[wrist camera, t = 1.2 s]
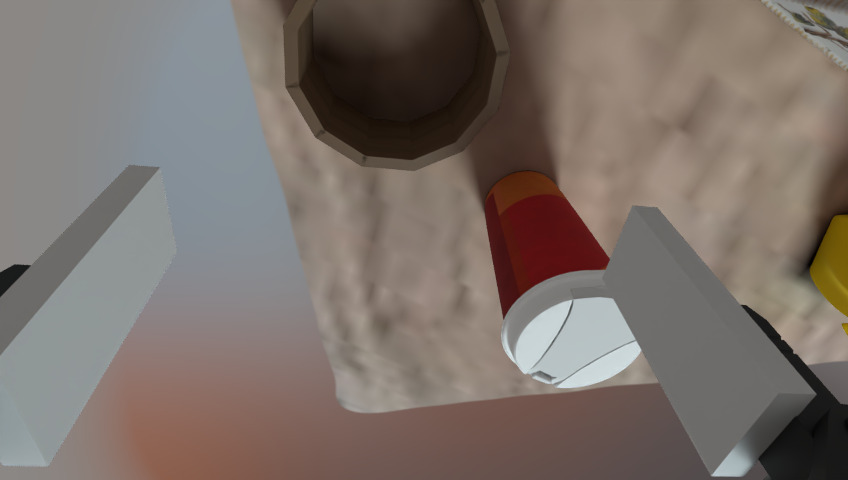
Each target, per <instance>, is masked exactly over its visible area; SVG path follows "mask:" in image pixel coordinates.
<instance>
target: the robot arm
mask: <svg viewBox="0 0 848 480" xmlns="http://www.w3.org/2000/svg"><path fill="white" fill-rule="evenodd" d="M176 253H177V249H176V244H175V239H174V234H173V229H172V224H171V219H170V214H169V210H168V204H167V199H166V194H165V189H164V184H163V179H162V174H161V169H160V167H148V166H135V165H129V166H128V167H127V168H126V169H125V170H124V171H123V172H122V173H121V174H120V175H119V176H118V177H117V178H116V179H115V180H114V181H113V182H112V183H111V184H110V185H109V186H108V187H107V188H106V189H105V190H104V191H103V192H102V193H101V194H100V196H98V198H97V199H96V200H95V201H94V202H93V203H92V204H91V205H90V206H89V207H88V208H87V209H86V210H85V211H84V212H83V213H82V214H81V215H80V216H79V217H78V218H77V219H76V220H75V221H74V222H73V223H72V224H71V225H70V226H69V227H68V228H67V229H66V230H65V231H64V232H63V234H61V236H60V237H59V238H58V239H57V240H56V241H55V242H54V243H53V244H52V245H51V246H50V247H49V248H48V249H47V250H46V251H45V252H44V253H43V254H42V255H41V256H40V257H39V258H38V259H37V260H36V261H35V262H34V263H33V264H32V265H13V266H11V267H9V268H7V269H6V270H4V271H2V272H0V462H1V463H2V465H3V466H49V464H50V463H51V461H52V459H53V458H54V456H55V454H56V453H57V451H58V449H59V448H60V446H61V445H62V443H63V441H64V439H65V438H66V436H67V435H68V433H69V431H70V430H71V428H72V426H73V425H74V423H75V421H76V420H77V418H78V416H79V415H80V413H81V411H82V410H83V408H84V406H85V404H86V403H87V401H88V400H89V398H90V396H91V395H92V393H93V391H94V390H95V388H96V386H97V384H98V383H99V381H100V379H101V378H102V376H103V374H104V373H105V371H106V370H107V368H108V366H109V365H110V363H111V361H112V360H113V358H114V356H115V355H116V353H117V351H118V350H119V348H120V346H121V344H122V343H123V341H124V340H125V338H126V336H127V335H128V333H129V331H130V330H131V328H132V326H133V325H134V323H135V321H136V320H137V318H138V316H139V315H140V313H141V311H142V310H143V308H144V306H145V305H146V303H147V301H148V300H149V298H150V296H151V295H152V293H153V291H154V290H155V288H156V286H157V285H158V283H159V281H160V280H161V278H162V276H163V275H164V273H165V271H166V270H167V268H168V266H169V265H170V263H171V261H172V260H173V258H174V256H175V255H176ZM602 279H603V281H604V283H605V285H606V287H607V288H608V290H609V292H610V294H611V296H612V298H613V299H614V301H615V303H616V305H617V307H618V308H619V310H620V312H621V314H622V316H623V317H624V319H625V321H626V323H627V325H628V327H629V328H630V330H631V332H632V334H633V336H634V337H635V339H636V341H637V343H638V345H639V346H640V348H641V350H642V352H643V354H644V356H645V357H646V359H647V361H648V363H649V365H650V366H651V368H652V370H653V372H654V374H655V375H656V377H657V379H658V381H659V383H660V385H661V386H662V388H663V390H664V392H665V393H666V395H667V397H668V399H669V401H670V403H671V404H672V406H673V408H674V410H675V412H676V414H677V415H678V417H679V418H680V421H681V423H682V424H683V426H684V428H685V430H686V431H687V433H688V435H689V437H690V439H691V441H692V443H693V444H694V446H695V448H696V450H697V452H698V453H699V455H700V457H701V459H702V461H703V462H704V464H705V466H706V468H707V470H708V472H709V473H710V475H711V476H742V477H743V476H745V475H746V474H747V472H748V471H749V470H750V469H751V468H752V467H753V466H754V465H755V463H756V462H757V461H758V460H759V461H760V462H761V464H762V465H763V467H764V468H765V470H766V471H767V473H768V475H767V476H766V478H765V479H764V480H848V405H845V404H840V403H839V402H838V400H837V399H836V398H835V397H834V396H833V395H832V394H831V392H830V391H829V390H828V389H827V388H826V387H825V386H824V385H823V383H822V382H821V381H820V380H819V379H818V378H817V377H816V376H815V375H814V373H813V372H812V371H811V370H810V369H809V368H808V366H807V365H806V364H805V363H804V362H803V361H802V360H801V359H800V357H799V356H798V355H797V354H793V350H792V348H791V347H790V346H789V345H788V344H787V343H786V342H785V341H784V340H781V336H780V335H779V334H778V333H777V331H776V330H775V329H774V328H773V327H772V326H771V325H770V324H769V322H768V321H767V320H766V319H764V318H763V317H761V316H760V315H759V314H757V313H756V312H755V311H753V310H752V309H751V308H749V307H748V306H746V305H740V304H739V303H738V302H737V300H736V299H735V298H734V297H733V296H732V295H731V293H730V292H729V291H728V290H727V289H726V288H725V286H724V285H723V284H722V283H721V282H720V280H719V279H718V278H717V277H716V276H715V275H714V273H713V272H712V271H711V270H710V269H709V268H708V266H707V265H706V264H705V263H704V262H703V261H702V259H701V258H700V257H699V256H698V255H697V254H696V252H695V251H694V250H693V249H692V248H691V247H690V245H689V244H688V243H687V242H686V241H685V240H684V238H683V237H682V236H681V235H680V234H679V233H678V231H677V230H676V229H675V228H674V227H673V225H672V224H671V223H670V222H669V221H668V220H667V218H666V217H665V216H664V215H663V214H662V213H661V211H660V210H659V209H658V208H657V207H645V206H632V208H631V210H630V213H629V215H628V218H627V220H626V222H625V225H624V227H623V230H622V232H621V234H620V237H619V239H618V242H617V244H616V246H615V249H614V251H613V253H612V256H611V258H610V261H609V263H608V265H607V268H606V270H605V273H604V275H603V277H602Z"/></svg>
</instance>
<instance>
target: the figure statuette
mask: <svg viewBox="0 0 848 480" xmlns="http://www.w3.org/2000/svg"><path fill="white" fill-rule="evenodd" d="M810 275H811V277H812V279H813V281H814V283H815V285H816V286H817V288H818V289H819V290H820V292H821V293H822V294H823V296H824V297H825V298H826V299H827V300H828V301H829V302H830V303H831V304H832V305H833V306H834V307H835V308H836V309H837V310H839V311H840V312H841V313H843V314H844V315H846V316H847V317H848V215H836V216H834V217H833V219H832V221H831V223H830V225H829V227H828V230H827V232H826V234H825V236H824V238H823V240H822V243H821V245H820V247H819V249H818V252H817V254H816V256H815V258H814V261H813V263H812V265H811V267H810ZM842 327H843V329H844V330H845V332H846V334H847V335H848V323H842Z"/></svg>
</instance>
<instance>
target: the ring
mask: <svg viewBox="0 0 848 480" xmlns="http://www.w3.org/2000/svg"><path fill="white" fill-rule="evenodd" d="M471 1H472V4H473V7H474V10H475V13H476V16H477V19H478V22H479V25H480V28H481V31H480V36H479V42H478V47H477V53H476V59H475V64H474V70H473V74H472V75H471V77H470V78H469V79H468V80H467V82H466V83H465V84H464V85H463V87H462V88H461V89H460V90H459V92H458V93H457V94H456V96H455V97H454V98H453V99H452V101H451V102H450V103H449V104H448V106H447V107H445V108H443V109H440V110H438V111H436V112H433V113H431V114H428V115H426V116H424V117H421V118H419V119H417V120H414V121H412V122H410V123H408V122H398V121H388V120H378V119H369V118H368V117H366V116H365V115H363V114H362V113H360V112H359V111H357V110H356V109H354V108H353V107H351V106H350V105H348V104H347V103H345V102H344V101H342V100H341V99H339V98H338V97H336V96H335V95H334V94H333V92H332V90H331V88H330V86H329V84H328V82H327V81H326V79H325V77H324V75H323V73H322V71H321V70H320V68H319V66H318V64H317V62H316V60H315V58H314V57H313V7H314V6H315V4H316V2H317V0H297V2H296V3H295V5H294V7H293V9H292V11H291V12H290V14H289V16H288V18H287V20H286V21H285V23H284V25H283V28H284V56H285V84H286V89H287V90H288V92H289V94H290V96H291V97H292V99H293V101H294V102H295V104H296V106H297V107H298V109H299V111H300V112H301V114H302V116H303V117H304V119H305V121H306V122H307V124H308V126H309V127H310V129H311V131H312V133H313V134H314V136H315V137H316V138H317V139H319V140H320V141H322V142H324V143H325V144H327V145H328V146H330V147H332V148H333V149H335V150H336V151H338V152H340V153H341V154H343V155H344V156H346V157H348V158H349V159H351V160H352V161H354V162H356V163H357V164H359V165H361V166H364V167H375V168H387V169H398V170H410V171H415V170H418V169H420V168H423V167H425V166H428V165H430V164H432V163H435V162H437V161H440V160H442V159H445V158H447V157H450V156H452V155H455V154H457V153H459V152H462V151H463V150H464V149H465V148H466V147H467V146H468V144H469V143H470V142H471V141H472V140H473V139H474V137H475V136H476V135H477V134H478V133H479V132H480V130H481V129H482V128H483V127H484V126H485V124H486V123H487V122H488V121H489V120H490V119H491V117H492V116H493V115H494V114H495V113H496V112H497V110H498V109H499V104H500V99H501V95H502V90H503V85H504V81H505V76H506V72H507V67H508V62H509V58H510V53H511V51H510V48H509V45H508V41H507V38H506V35H505V32H504V28H503V25H502V22H501V19H500V15H499V12H498V9H497V6H496V2H495V0H471Z"/></svg>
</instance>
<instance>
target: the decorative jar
mask: <svg viewBox="0 0 848 480" xmlns="http://www.w3.org/2000/svg"><path fill="white" fill-rule="evenodd" d="M760 1H761V2H762V3H763V4H764V5H765V6H766V7H768V8H769V9H770V10H771V11H772V12H774V13H775V14H776V15H777V16H778V17H779V18H781V19H782V20H783V21H784V22H785V23H786V24H788V25H789V26H790V27H791V28H793V29H794V30H795V31H797V32H798V33H799V34H800V35H801V36H802V37H804V38H805V39H806V40H807V41H808V42H809V43H811V44H813V46H814V47H816V48H817V49H819V51H820V52H822V53H823V54H824V55H826V56H827V57H829V58H830V59H831V60H833V61H834V62H835V63H836V64H837V65H839V66H840V67H841V68H843V69H844V70H845V71H847V72H848V0H760Z"/></svg>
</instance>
